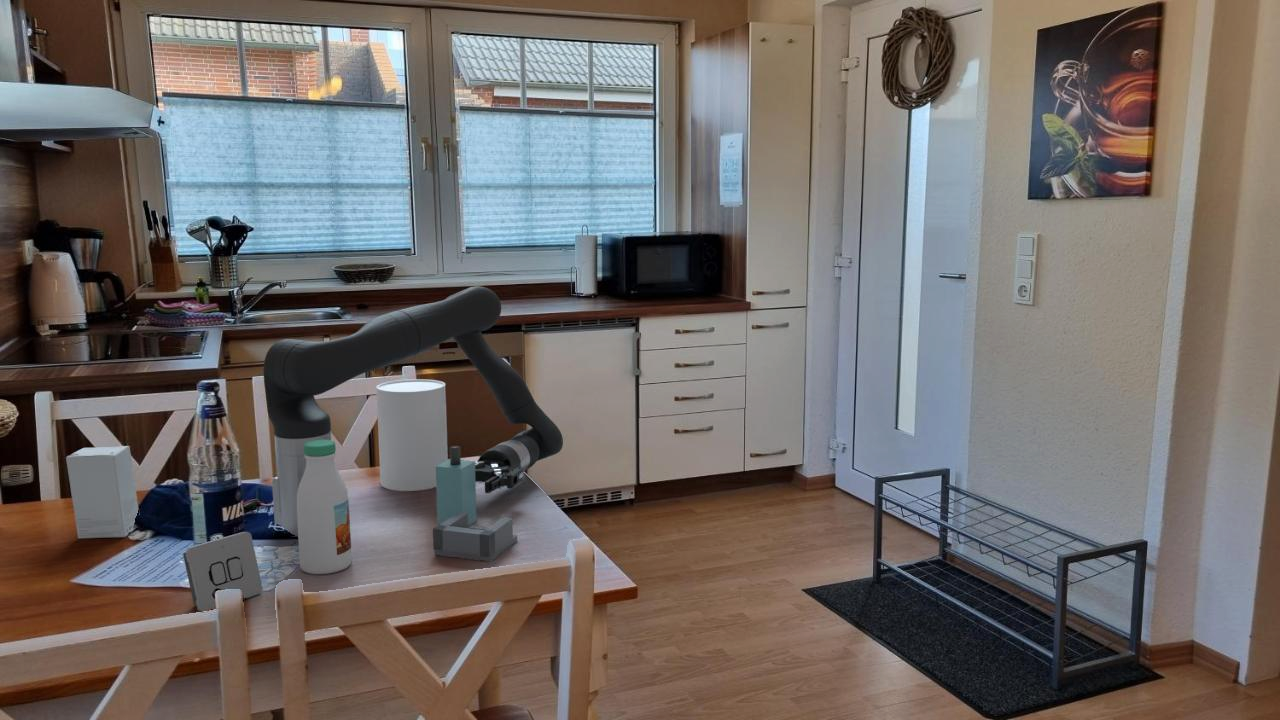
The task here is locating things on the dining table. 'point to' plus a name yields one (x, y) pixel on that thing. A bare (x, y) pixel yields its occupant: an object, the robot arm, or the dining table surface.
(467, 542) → the socket
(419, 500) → the dining table surface
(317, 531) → the milk bottle
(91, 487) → the skincare box
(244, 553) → the electrical switch
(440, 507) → the plug
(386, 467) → the canister
